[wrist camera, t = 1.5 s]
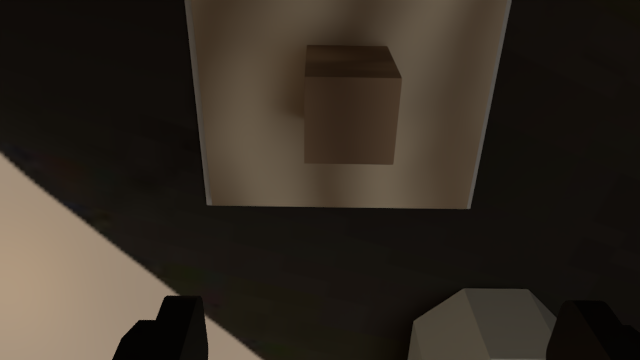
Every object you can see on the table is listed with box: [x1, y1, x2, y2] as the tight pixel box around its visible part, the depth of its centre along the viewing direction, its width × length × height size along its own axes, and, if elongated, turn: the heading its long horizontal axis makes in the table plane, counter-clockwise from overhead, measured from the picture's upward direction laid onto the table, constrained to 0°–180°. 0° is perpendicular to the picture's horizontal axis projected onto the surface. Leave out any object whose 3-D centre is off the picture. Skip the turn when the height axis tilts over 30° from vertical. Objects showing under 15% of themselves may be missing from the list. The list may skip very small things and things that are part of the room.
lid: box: [191, 0, 507, 209], centre depth 24 cm, size 15×15×6 cm
